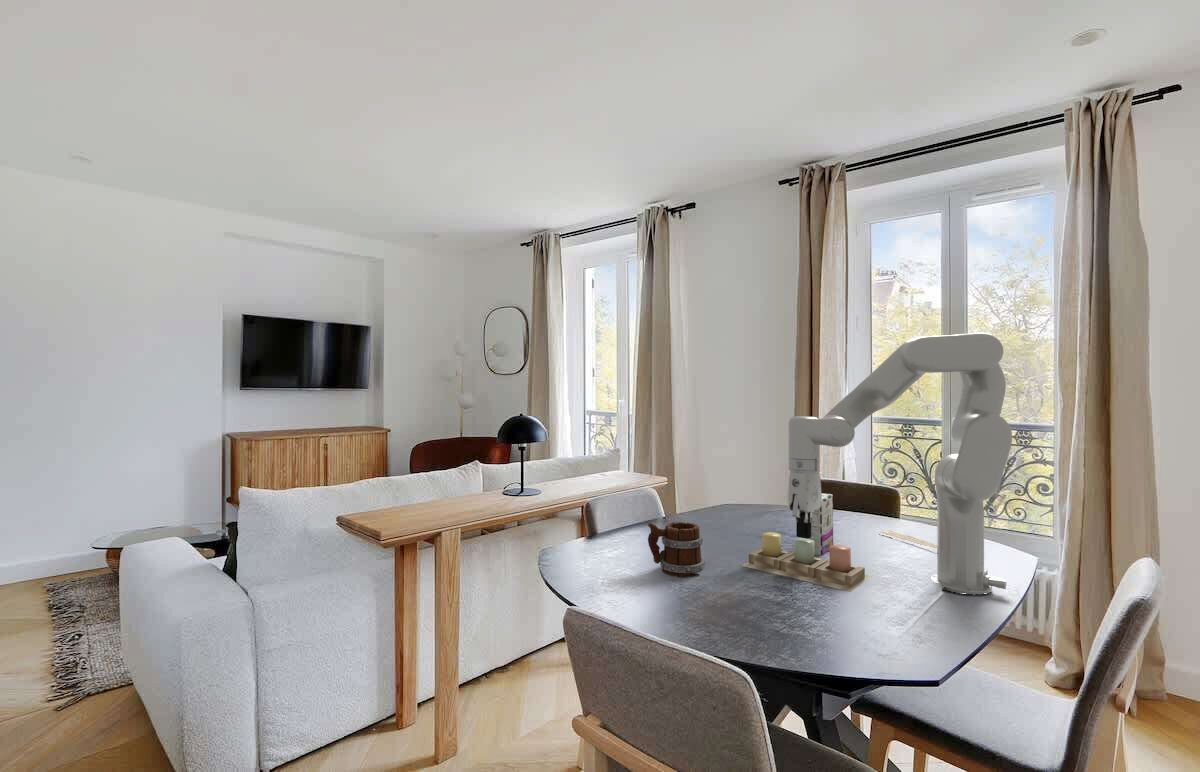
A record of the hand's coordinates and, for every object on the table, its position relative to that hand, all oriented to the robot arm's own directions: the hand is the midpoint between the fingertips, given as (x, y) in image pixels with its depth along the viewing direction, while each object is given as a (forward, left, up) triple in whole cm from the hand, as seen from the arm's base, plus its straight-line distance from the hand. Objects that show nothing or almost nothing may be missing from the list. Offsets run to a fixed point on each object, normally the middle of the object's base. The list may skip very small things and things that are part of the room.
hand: (803, 537), depth 150 cm
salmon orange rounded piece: (-9, 0, -6) cm, 11 cm away
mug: (+26, +19, -10) cm, 34 cm away
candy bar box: (+5, -21, -10) cm, 24 cm away
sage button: (0, 0, -6) cm, 6 cm away
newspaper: (-12, -52, -11) cm, 54 cm away
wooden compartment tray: (0, 0, -10) cm, 10 cm away
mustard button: (+9, 0, -6) cm, 11 cm away
